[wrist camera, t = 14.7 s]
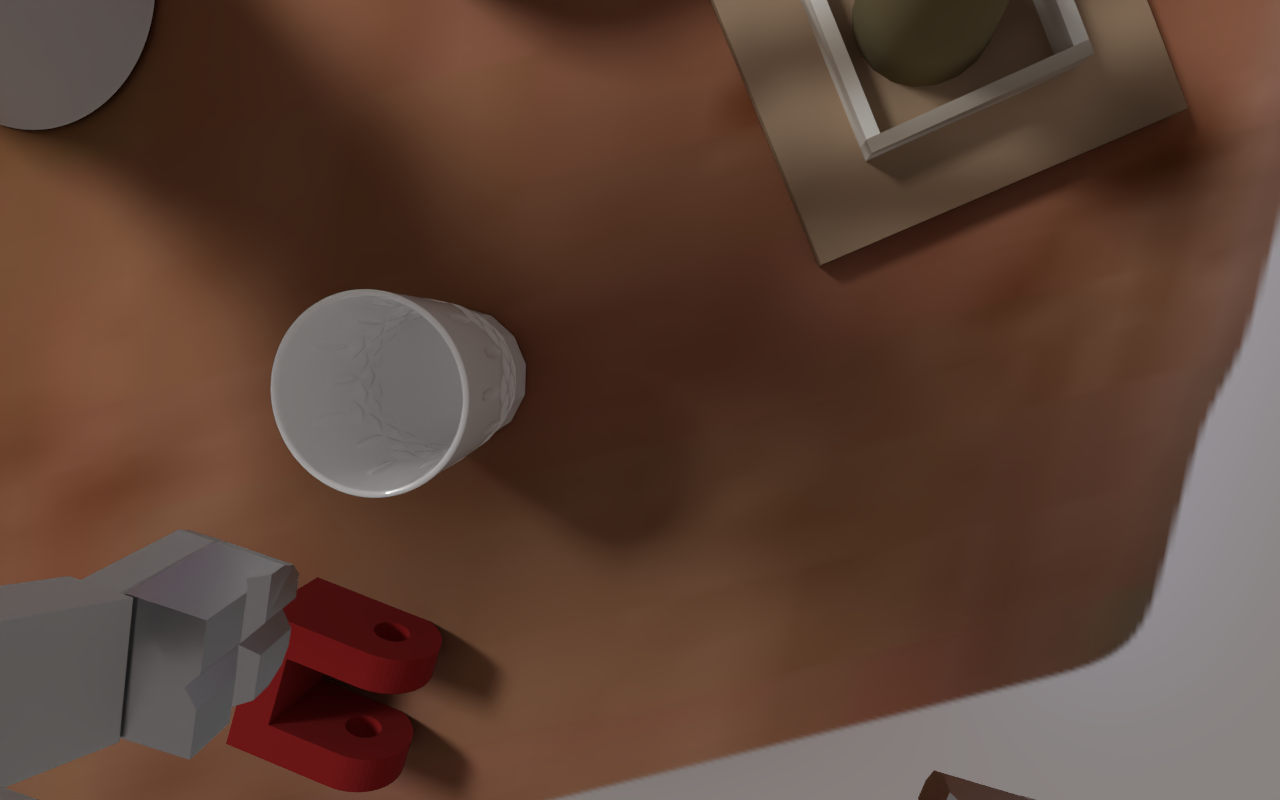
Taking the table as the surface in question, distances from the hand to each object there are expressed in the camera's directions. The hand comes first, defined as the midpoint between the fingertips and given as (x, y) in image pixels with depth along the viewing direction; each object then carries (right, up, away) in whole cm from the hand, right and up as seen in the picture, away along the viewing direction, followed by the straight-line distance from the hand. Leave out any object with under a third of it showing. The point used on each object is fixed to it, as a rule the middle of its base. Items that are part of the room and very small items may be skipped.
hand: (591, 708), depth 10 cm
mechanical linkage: (-18, -9, +33) cm, 38 cm away
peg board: (+13, +20, +25) cm, 35 cm away
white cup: (-8, +5, +30) cm, 31 cm away
